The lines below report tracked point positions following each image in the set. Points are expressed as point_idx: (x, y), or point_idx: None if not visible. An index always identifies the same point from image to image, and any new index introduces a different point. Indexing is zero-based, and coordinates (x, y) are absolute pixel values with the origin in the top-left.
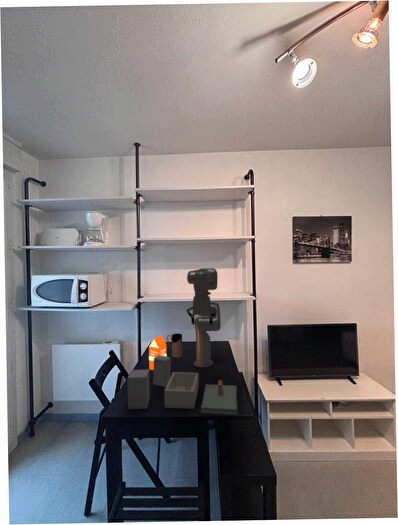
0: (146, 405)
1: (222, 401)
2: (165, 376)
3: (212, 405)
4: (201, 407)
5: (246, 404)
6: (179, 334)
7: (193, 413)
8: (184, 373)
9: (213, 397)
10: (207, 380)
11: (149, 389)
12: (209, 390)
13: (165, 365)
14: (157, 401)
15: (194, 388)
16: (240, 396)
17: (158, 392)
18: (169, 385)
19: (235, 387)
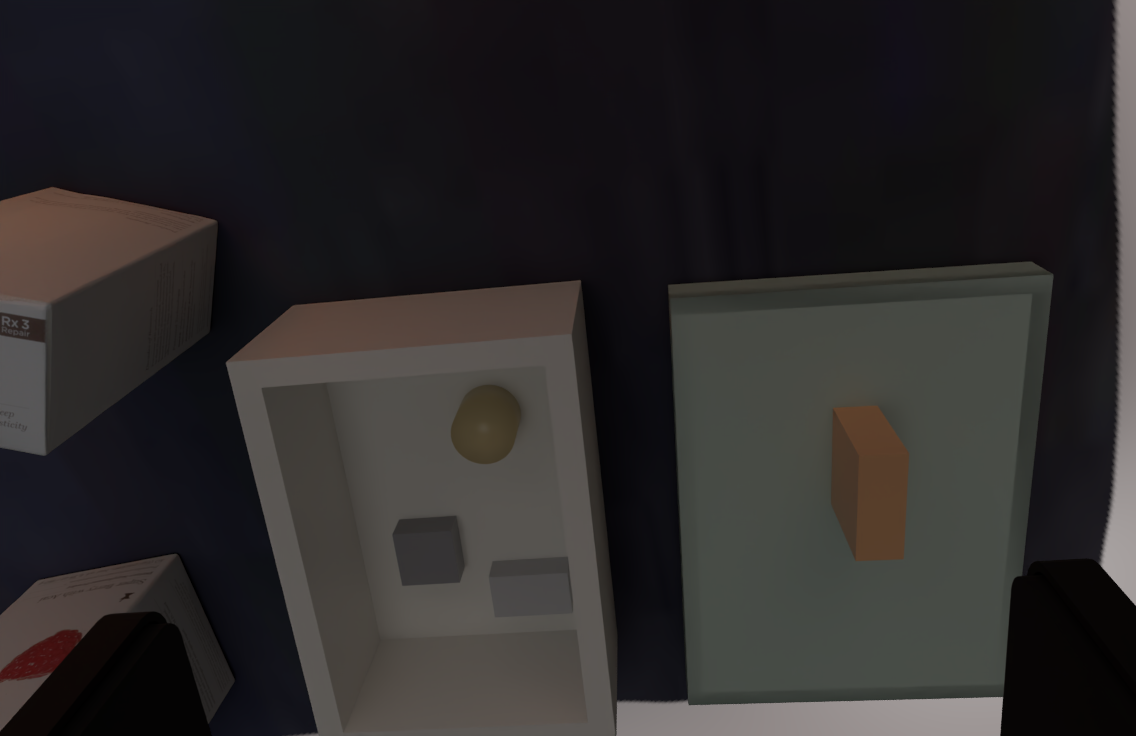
0: (222, 699)
1: (876, 599)
2: (159, 368)
3: (785, 664)
4: (691, 700)
5: (1097, 516)
6: None
7: (625, 686)
8: (390, 376)
9: (785, 549)
10: (659, 79)
11: (135, 609)
12: (730, 430)
13: (83, 423)
14: (267, 577)
15: (609, 689)
16: (1058, 390)
17: (198, 439)
18: (326, 651)
19: (1035, 323)
